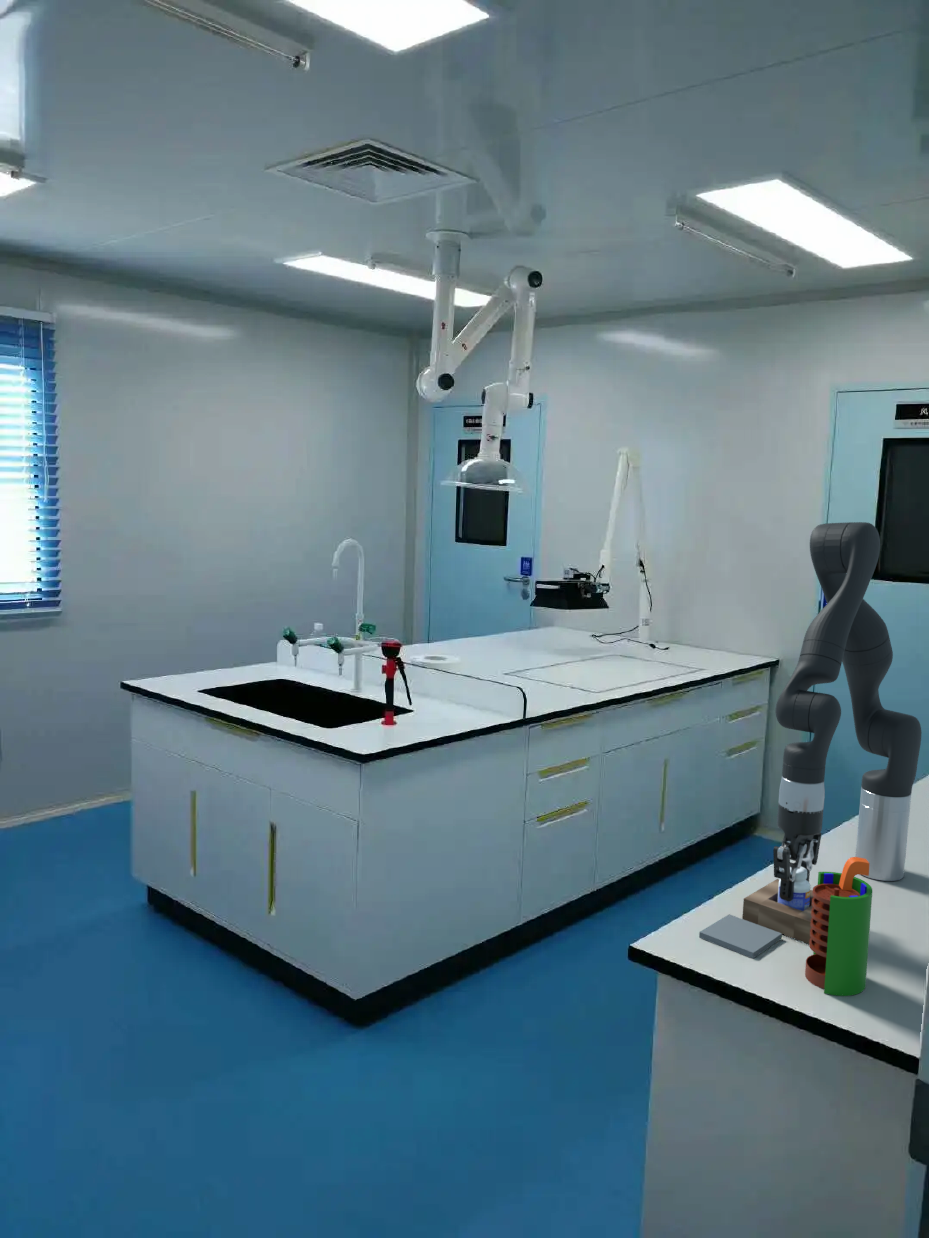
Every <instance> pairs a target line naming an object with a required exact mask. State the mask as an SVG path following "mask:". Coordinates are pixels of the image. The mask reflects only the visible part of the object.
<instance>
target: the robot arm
mask: <svg viewBox="0 0 929 1238" xmlns="http://www.w3.org/2000/svg"><path fill="white" fill-rule="evenodd" d="M880 553H881V538H880V534H879V531H878V529H877V527H876V526H875V525H873V524H872V523H870V522H864V521H863V522H861V521H859V522H858V521H857V522H853V521H852V522H851V521H850V522H849V521H848V522H847V521H846V522H831V523H830V522H829V523H822V524H819V525H817V526H815V527H814V528H813V530H812V531H811V534H810V538H809V554H810V559H811V562H812V566H813V569H814V571H815V574H816V577H817V579H818V582H819V585H820V589H821V590H822V593H823V595H824V599H825V601H826V605H825V606H824V607H823V608H822V609H821V610H820V611H819V613H817V615H816V616H815V617H814V618H813V619H812V621H811V622H810V624H809V625H808V627H807V630H805V634H804V638H803V641H802V645H801V650H800V653H799V657H798V661H797V664H796V667H795V668H794V671H793V673H792V674H791V676H790V677H789V680H788V681H787V683H786V685H785V686H784V688H783V689H782V691H781V693H780V694H779V696H778V699H777V701H776V704H775V710H774V711H775V717H776V721H777V722H778V724H779V725H780V726H781V727H782V728H786V729H788V730H795V731H800V732H805V733H811V734H813V739H812V740H811V741H798V742H791V743H788V744H787V745H786V746H785V747H784V750H783V754H782V755H783V756H782V771H781V779H780V784H779V788H778V789H779V791H778V804H777V816H776V817H777V818H776V826H777V827H778V829H780V830H781V831H782V832H783V838H782V843H781V846H776V845H775V846H773V851H772V853H773V877H774V878H775V879H779V880H780V879H781V882H780V898H781V899H783V900H786V901H791V900H793V894H794V879H795V875H796V871H797V869H800V867H801V866H802V867H804V868H806V869H807V879H806V880H807V881H808V882H809V883H810V874H811V873H810V872H812V870H813V865H814V866H816V865H817V863H818V859H819V858H818V857H819V851H820V844H821V841H822V840H821V839H822V830H823V819H824V808H825V807H824V806H825V795H826V793H825V792H826V791H825V774H826V764H827V758H828V753H829V749H830V746H831V743H832V740H833V737H834V734H835V733H836V730H837V727H838V725H839V723H840V720H841V717H842V707H841V704H840V701H839V700H838V699H837V697H835V696H834V695H832V694H830V693H825V692H824V693H823V692H818V691H817V692H816V691H809V689H810V688H811V687H812V686H815V685H816V686H817V685H823V684H830V683H834V682H836V681H837V679H838V677H839V676H840V672H841V668H842V665H843V668H844V673H845V676H846V681H847V685H848V690H849V695H850V699H851V707H852V714H853V715H852V716H853V723H854V730H855V735H856V736H855V737H856V739H857V742H858V744H859V746H860V748H861V749H862V750H864V751H866V752H868V753H870V754H872V755H876V756H881V757H883V758H888V761H887V764H886V765H887V766H886V767H885V768H881V769H871V770H867V771H865V772H864V773H863V774H862V778H861V787H860V796H859V797H860V798H859V809H858V810H859V812H858V819H857V820H858V821H857V834H856V845H855V846H856V847H855V856H854V857H859V858H864V859H866V860H867V861H868V862H869V863H870V864H869V876H866V875H862V876H864V877H866V878H869V879H873V880H878V881H885V882H893V881H899V880H901V879H903V878H904V876H905V865H906V859H907V858H906V857H907V844H908V834H909V824H910V813H911V804H912V803H911V802H912V801H911V800H912V791H913V786H914V782H915V780H916V777H917V776H916V775H917V770H918V763H919V762H918V761H919V757H920V756H919V755H920V750H921V744H922V725H921V722H920V721H919V719H918V718H917V717H916V716H913V715H911V714H907V713H903V712H898V711H894V710H889V709H885V708H884V707H883V705H882V703H881V700H880V693H879V688H880V686H881V683H882V682H883V680H884V678H885V677H886V676H887V674H888V672H889V669H890V667H891V666H892V662H893V657H894V653H893V652H894V651H893V647H892V643H891V638H890V633H889V629H888V627H887V625H886V623H885V620H883V618H882V617H881V615H879V613H878V612H877V611H876V610H875V609H874V608H873V607H872V606H871V605H870V604H869V603H868V602H867V601H866V599H864V597H865V594H866V592H867V590H868V588H869V584H870V583H871V579H872V577H873V575H874V572H875V570H876V567H877V564H878V561H879V557H880ZM791 861H794V862H791ZM790 867H791V873H790Z"/></svg>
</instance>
